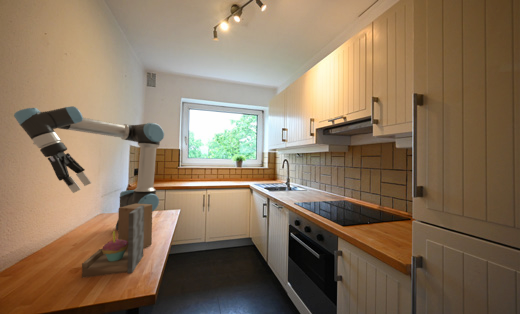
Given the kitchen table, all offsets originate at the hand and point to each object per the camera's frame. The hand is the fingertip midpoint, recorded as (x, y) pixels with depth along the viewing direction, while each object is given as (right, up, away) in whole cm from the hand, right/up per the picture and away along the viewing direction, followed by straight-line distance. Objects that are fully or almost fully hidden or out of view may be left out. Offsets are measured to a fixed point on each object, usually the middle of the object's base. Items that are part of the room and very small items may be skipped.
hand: (83, 187), depth 90 cm
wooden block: (+20, -30, +6) cm, 36 cm away
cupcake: (+22, -27, -11) cm, 36 cm away
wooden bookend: (+22, -29, -11) cm, 38 cm away
